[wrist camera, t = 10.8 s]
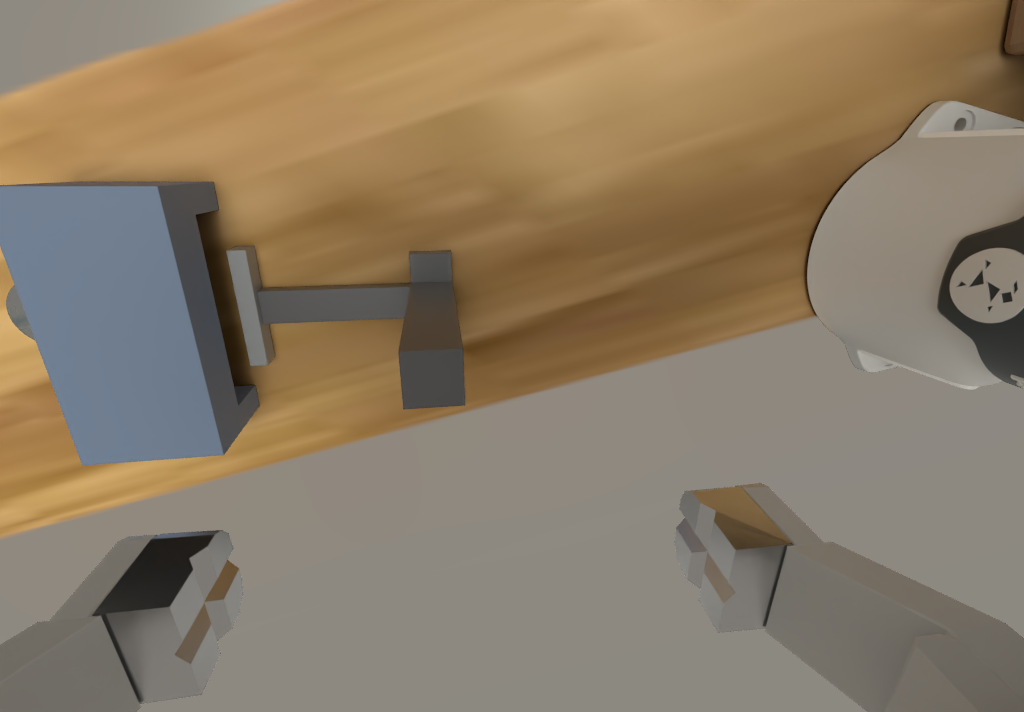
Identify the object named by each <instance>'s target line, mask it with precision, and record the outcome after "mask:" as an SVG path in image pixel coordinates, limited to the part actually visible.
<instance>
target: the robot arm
mask: <svg viewBox="0 0 1024 712" xmlns="http://www.w3.org/2000/svg"><path fill="white" fill-rule="evenodd" d="M954 125H955V127H954ZM807 283H808V291H809V296H810V300H811V303H812V306H813V308H814V311H815V313H816V314H817V316H818V318H819V319H820V320H821V322H822V323H823V324H824V325H825V326H826V327H827V328H828V329H829V330H830V331H831V332H833V333H834V334H835V335H836V336H838V337H839V338H840V339H841V340H842V341H843V342H844V344H845V346H846V349H847V352H848V354H849V357H850V359H851V362H852V363H853V365H854V366H855V367H856V368H857V369H860V370H863V371H866V372H869V373H874V372H880V371H884V370H888V369H891V368H895V367H902V368H905V369H908V370H910V371H913V372H916V373H919V374H922V375H925V376H928V377H930V378H933V379H936V380H939V381H942V382H944V383H947V384H950V385H953V386H956V387H959V388H963V389H970V390H974V389H976V388H978V387H980V386H990V385H994V384H997V383H1000V382H1002V381H1004V382H1007V383H1009V384H1012V385H1015V386H1017V387H1020V388H1022V389H1023V390H1024V122H1023V121H1020V120H1017V119H1014V118H1010V117H1007V116H1004V115H1001V114H998V113H994V112H991V111H988V110H985V109H981V108H978V107H975V106H972V105H969V104H965V103H962V102H959V101H937V102H934V103H932V104H931V105H929V106H928V107H927V108H926V109H925V110H924V111H923V112H922V113H921V114H920V115H919V116H918V117H917V119H916V120H915V121H914V122H913V123H912V125H911V126H910V127H909V128H908V130H907V131H906V132H905V134H904V135H903V136H902V137H901V139H900V140H898V141H897V142H896V143H895V144H894V145H892V146H891V147H890V148H888V149H887V150H885V151H884V152H882V153H881V154H879V155H878V156H876V157H875V158H873V159H872V160H870V161H869V162H868V163H867V164H865V165H864V166H863V167H862V168H860V169H859V170H858V171H857V172H856V173H855V174H854V175H853V176H852V177H851V178H850V179H849V180H848V181H847V182H846V183H845V184H844V186H843V187H842V188H841V189H840V190H839V192H838V193H837V195H836V196H835V197H834V199H833V200H832V202H831V203H830V205H829V206H828V208H827V210H826V211H825V213H824V215H823V217H822V219H821V221H820V223H819V226H818V228H817V230H816V233H815V236H814V239H813V242H812V245H811V249H810V254H809V259H808V268H807ZM679 509H680V511H681V512H682V514H683V515H684V517H685V519H684V520H683V521H682V522H681V523H680V524H679V525H678V526H677V528H676V536H675V548H676V555H677V559H678V562H679V564H680V567H681V570H682V571H683V573H684V575H685V576H686V579H687V580H688V581H690V582H691V583H693V584H694V585H696V586H697V587H699V588H701V591H700V597H699V601H700V603H701V605H702V606H703V608H704V610H705V612H706V613H707V615H708V617H709V618H710V620H711V622H712V623H713V625H714V627H715V629H716V630H717V632H731V631H742V630H753V629H764V628H765V632H767V633H768V634H769V635H770V636H772V637H773V638H774V639H775V640H777V641H778V642H780V643H781V644H782V645H783V646H784V647H786V648H787V649H788V650H790V651H791V652H792V653H793V654H795V655H796V656H797V657H798V658H800V659H801V660H802V661H804V662H805V663H806V664H807V665H809V666H810V667H811V668H812V669H814V670H815V671H816V672H817V673H819V674H820V675H821V676H823V677H824V678H825V679H827V680H828V681H829V682H830V683H831V684H833V685H834V686H835V687H837V688H838V689H839V690H840V691H842V692H843V693H844V694H846V695H847V696H848V697H849V698H851V699H852V700H853V701H854V702H856V703H857V704H858V705H859V706H861V707H862V708H863V709H865V710H866V711H867V712H1024V638H1023V637H1022V636H1020V635H1019V634H1018V633H1017V632H1016V631H1014V630H1013V629H1012V628H1011V627H1009V626H1008V625H1007V624H1006V623H1004V622H1002V621H1000V620H998V619H995V618H993V617H991V616H989V615H987V614H985V613H983V612H981V611H978V610H976V609H974V608H972V607H969V606H967V605H966V604H963V603H961V602H959V601H957V600H955V599H953V598H951V597H948V596H947V595H944V594H942V593H940V592H938V591H936V590H934V589H932V588H930V587H927V586H925V585H923V584H921V583H919V582H917V581H915V580H912V579H910V578H908V577H906V576H904V575H902V574H899V573H898V572H895V571H893V570H891V569H889V568H886V567H885V566H883V565H880V564H878V563H876V562H874V561H872V560H870V559H868V558H866V557H864V556H861V555H859V554H857V553H855V552H853V551H851V550H849V549H846V548H844V547H842V546H840V545H838V544H836V543H834V542H823V541H822V540H821V539H820V538H819V537H818V536H817V535H816V534H815V533H814V532H813V531H812V530H811V529H810V528H809V527H808V526H807V525H806V524H805V523H804V522H803V521H802V520H801V519H800V518H799V517H798V516H797V515H796V514H795V513H794V512H793V511H792V510H791V509H790V508H789V507H788V506H787V505H786V504H785V503H784V502H783V501H782V500H781V499H780V498H779V497H778V496H777V495H776V494H775V493H774V492H773V491H772V490H771V489H770V488H769V487H768V486H766V485H764V484H762V483H756V484H748V485H738V486H735V487H724V488H714V489H703V490H691V491H685V492H684V494H683V495H682V497H681V501H680V507H679ZM232 551H233V545H232V542H231V539H230V536H229V533H227V532H225V531H223V530H216V531H201V532H186V533H185V532H184V533H168V534H160V535H144V536H131V537H127V538H125V539H122V540H120V541H119V542H117V543H116V544H115V546H114V547H113V548H112V549H111V550H110V551H109V552H108V554H107V555H106V556H105V557H104V558H103V559H102V561H101V562H100V563H99V564H98V565H97V566H96V567H95V569H94V570H93V571H92V572H91V573H90V574H89V575H88V577H87V578H86V579H85V580H84V581H83V582H82V584H81V585H80V586H79V587H78V588H77V589H76V590H75V592H74V593H73V594H72V595H71V596H70V598H69V599H68V600H67V601H66V602H65V603H64V604H63V605H62V607H61V608H60V609H59V610H58V611H57V612H56V614H55V615H54V616H53V617H52V618H51V619H50V621H43V622H37V623H35V624H33V625H32V626H30V627H28V628H27V629H25V630H24V631H22V632H20V633H19V634H17V635H16V636H14V637H12V638H11V639H9V640H7V641H5V642H4V643H2V644H1V645H0V712H137V710H139V709H140V704H144V703H151V702H157V701H164V700H170V699H177V698H183V697H191V696H197V695H202V693H203V690H204V689H205V687H206V684H207V682H208V680H209V678H210V676H211V674H212V671H213V669H214V667H215V665H216V663H217V661H218V658H219V656H220V654H221V653H220V650H219V646H218V643H217V641H218V640H219V639H220V638H222V637H223V636H224V635H225V634H226V633H227V632H229V631H230V630H231V629H232V628H233V626H234V623H235V621H236V618H237V616H238V614H239V611H240V605H241V601H242V595H243V586H242V577H241V573H240V569H239V568H238V567H236V566H235V565H234V564H232V563H231V562H230V561H228V558H229V556H230V554H231V552H232Z"/></svg>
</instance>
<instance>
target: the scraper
mask: <svg viewBox="0 0 1024 712" xmlns="http://www.w3.org/2000/svg"><path fill="white" fill-rule="evenodd" d="M226 252H227V257H228V262H229V267H230V271H231V276H232V281H233V286H234V290H235V295H236V300H237V305H238V309H239V314H240V319H241V324H242V328H243V333H244V338H245V343H246V347H247V352H248V357H249V362H250V366H263V365H268V364H269V363H270V362H271V361H272V359H273V358H274V357H275V353H274V348H273V343H272V338H271V332H270V327H269V324H275V323H299V322H324V321H349V320H373V319H398V318H405V319H404V325H403V330H402V335H401V341H400V346H399V351H398V353H399V364H400V375H401V387H402V398H403V409H417V408H432V407H447V406H462V405H465V387H464V360H463V345H462V339H461V333H460V326H459V320H458V314H457V308H456V301H455V295H454V289H453V283H452V263H451V250H447V251H410V253H409V258H410V271H411V283H399V284H366V285H334V286H301V287H269V288H262V285H261V279H260V274H259V269H258V263H257V258H256V253H255V248H254V246H236V247H234V248H231V249H229V250H227V251H226Z"/></svg>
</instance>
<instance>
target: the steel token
mask: <svg viewBox="0 0 1024 712" xmlns="http://www.w3.org/2000/svg"><path fill="white" fill-rule="evenodd" d="M6 306H7V311H8V314H9V316H10V318H11V320H12V322H13V323H14V324H15V326H16V327H17V328H18V329H19V330H20V331H21V332H23V333H24V334H25V335H27V336H28V337H30V338H32V339H34V340H35V337H34V335H33V332H32V329H31V327H30V324H29V321H28V319H27V316H26V313H25V311H24V308H23V305H22V303H21V300H20V297H19V295H18V292H17V289H16V287H15V285H14V286H13V287H12V288H11V290H10V291H9V293H8V296H7V300H6Z"/></svg>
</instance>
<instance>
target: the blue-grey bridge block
mask: <svg viewBox="0 0 1024 712" xmlns="http://www.w3.org/2000/svg"><path fill="white" fill-rule="evenodd" d="M216 210H219V207H218V202H217V197H216V192H215V188H214V183H213V182H60V183H39V184H18V185H0V247H1V249H2V252H3V255H4V257H5V260H6V263H7V265H8V268H9V271H10V273H11V276H12V279H13V281H14V284H15V287H16V289H17V292H18V295H19V297H20V300H21V303H22V305H23V308H24V311H25V313H26V316H27V319H28V321H29V324H30V327H31V329H32V332H33V335H34V337H35V340H36V343H37V346H38V348H39V351H40V354H41V356H42V359H43V362H44V364H45V367H46V370H47V372H48V375H49V378H50V380H51V383H52V386H53V388H54V391H55V394H56V396H57V399H58V402H59V404H60V407H61V410H62V412H63V415H64V418H65V420H66V423H67V426H68V428H69V431H70V434H71V436H72V439H73V442H74V444H75V447H76V450H77V452H78V455H79V458H80V460H81V463H82V465H96V464H110V463H123V462H137V461H151V460H164V459H178V458H192V457H205V456H219V455H224V454H225V453H226V451H227V450H228V449H229V447H230V446H231V444H232V443H233V442H234V440H235V439H236V437H237V436H238V435H239V433H240V432H241V431H242V429H243V428H244V426H245V425H246V424H247V422H248V421H249V419H250V418H251V417H252V415H253V414H254V413H255V411H256V410H257V408H258V407H259V406H260V405H259V400H258V396H257V391H256V386H255V385H246V386H234V384H233V380H232V375H231V371H230V366H229V362H228V358H227V353H226V349H225V344H224V340H223V335H222V331H221V326H220V322H219V318H218V313H217V309H216V304H215V300H214V295H213V291H212V286H211V282H210V277H209V273H208V269H207V264H206V260H205V255H204V251H203V246H202V242H201V237H200V233H199V229H198V224H197V220H196V215H197V214H201V213H206V212H211V211H216Z"/></svg>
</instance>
